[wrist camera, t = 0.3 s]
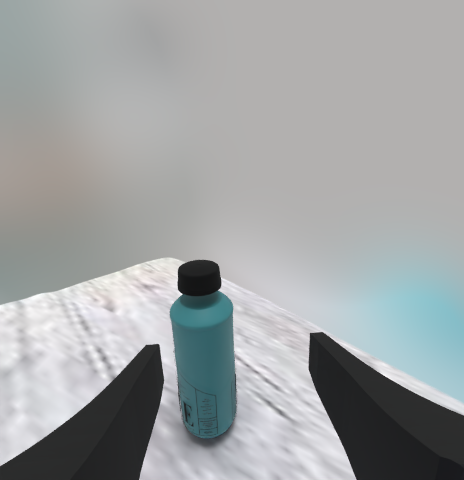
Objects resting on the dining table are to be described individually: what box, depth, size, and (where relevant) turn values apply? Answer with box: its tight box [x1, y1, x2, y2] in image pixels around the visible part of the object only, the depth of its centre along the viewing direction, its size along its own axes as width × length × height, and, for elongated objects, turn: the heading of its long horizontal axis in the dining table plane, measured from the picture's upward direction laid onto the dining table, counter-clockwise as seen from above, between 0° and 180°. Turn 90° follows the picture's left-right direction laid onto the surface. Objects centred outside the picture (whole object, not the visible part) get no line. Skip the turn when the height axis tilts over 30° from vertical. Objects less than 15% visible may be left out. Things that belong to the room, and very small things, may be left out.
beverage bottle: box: [170, 260, 237, 438], centre depth 27 cm, size 6×7×20 cm
